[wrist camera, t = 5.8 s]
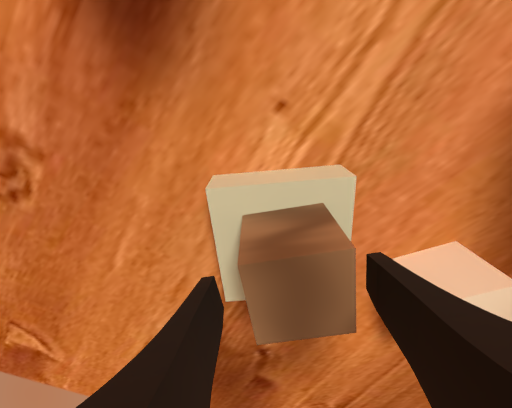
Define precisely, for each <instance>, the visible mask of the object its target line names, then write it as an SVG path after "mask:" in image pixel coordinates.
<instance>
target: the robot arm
mask: <svg viewBox="0 0 512 408" xmlns="http://www.w3.org/2000/svg"><path fill="white" fill-rule="evenodd" d="M366 289H367V291H368V293H369V296H370V298H371V300H372V302H373V304H374V306H375V308H376V310H377V312H378V314H379V315H380V317H381V319H382V320H383V322H384V324H385V325H386V327H387V328H388V330H389V332H390V333H391V335H392V336H393V338H394V340H395V341H396V343H397V345H398V346H399V348H400V349H401V351H402V353H403V354H404V356H405V357H406V359H407V361H408V363H409V364H410V366H411V368H412V370H413V371H414V373H415V375H416V377H417V379H418V381H419V383H420V385H421V387H422V389H423V391H424V393H425V395H426V397H427V399H428V401H429V403H430V405H431V407H432V408H512V321H509V320H507V319H504V318H502V317H500V316H497V315H495V314H493V313H490V312H488V311H486V310H484V309H482V308H479V307H477V306H475V305H473V304H471V303H469V302H467V301H465V300H463V299H461V298H459V297H457V296H455V295H453V294H451V293H449V292H447V291H445V290H443V289H441V288H440V287H438V286H436V285H434V284H432V283H431V282H429V281H427V280H425V279H424V278H422V277H420V276H419V275H417V274H415V273H414V272H412V271H410V270H409V269H407V268H405V267H404V266H402V265H400V264H399V263H397V262H396V261H394V260H392V259H391V258H389V257H388V256H386V255H384V254H382V253H381V252H378V253H371V254H367V271H366ZM223 313H224V307H223V303H222V300H221V297H220V294H219V290H218V287H217V284H216V281H215V277H214V276H210V277H203V278H201V280H200V281H199V282H198V283H197V285H196V286H195V287H194V289H193V290H192V291H191V293H190V294H189V296H188V297H187V298H186V300H185V301H184V302H183V303H182V305H181V306H180V307H179V309H178V310H177V311H176V313H175V314H174V315H173V316H172V317H171V319H170V320H169V321H168V322H167V323H166V325H165V326H164V327H163V328H162V329H161V331H160V332H159V333H158V334H157V335H156V336H155V337H154V338H153V339H152V340H151V341H150V343H149V344H148V345H147V346H146V347H145V348H144V349H143V350H142V351H141V352H140V353H139V354H138V355H137V356H136V357H135V358H133V359H132V360H131V361H130V362H129V363H128V364H127V365H126V366H125V367H124V368H123V369H122V370H120V371H119V372H118V373H117V374H116V375H115V376H114V377H113V378H112V379H110V380H109V381H108V382H107V383H106V384H105V385H103V386H102V387H101V388H100V389H99V390H97V391H96V392H95V393H94V394H92V395H91V396H90V397H89V398H87V399H86V400H85V401H84V402H83V403H81V404H80V405H79V406H77V407H76V408H210V400H211V391H212V384H213V378H214V373H215V367H216V362H217V356H218V351H219V346H220V340H221V334H222V328H223Z"/></svg>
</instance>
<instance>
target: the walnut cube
mask: <svg viewBox="0 0 512 408" xmlns="http://www.w3.org/2000/svg"><path fill="white" fill-rule="evenodd" d="M237 266H238V270H239V274H240V278H241V282H242V287H243V291H244V295H245V299H246V303H247V307H248V311H249V315H250V319H251V323H252V327H253V331H254V335H255V339H256V344H257V345H262V344H270V343H278V342H286V341H294V340H302V339H310V338H318V337H326V336H334V335H341V334H349V333H356V248H355V247H354V245H353V244H352V243H351V241H350V240H349V238H348V237H347V236H346V234H345V233H344V231H343V230H342V229H341V227H340V226H339V224H338V223H337V222H336V220H335V219H334V217H333V216H332V215H331V213H330V212H329V210H328V209H327V208H326V206H325V205H324V203H318V204H311V205H305V206H299V207H292V208H286V209H279V210H273V211H267V212H260V213H254V214H247V215H243V216H242V225H241V235H240V245H239V254H238V264H237Z"/></svg>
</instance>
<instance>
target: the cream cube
mask: <svg viewBox="0 0 512 408" xmlns="http://www.w3.org/2000/svg"><path fill="white" fill-rule="evenodd" d="M393 260H394V261H396V262H397V263H399V264H400V265H402V266H404V267H405V268H407V269H409V270H410V271H412V272H414V273H415V274H417V275H419V276H420V277H422V278H424V279H425V280H427V281H429V282H431V283H432V284H434V285H436V286H438V287H440V288H441V289H443V290H445V291H447V292H449V293H451V294H453V295H455V296H457V297H459V298H461V299H463V300H465V301H467V302H469V303H471V304H473V305H475V306H477V307H479V308H482V309H484V310H486V311H488V312H490V313H493V314H495V315H497V316H500V317H502V318H504V319H507V320H509V321H512V279H511V278H510V277H508V276H507V275H505V274H504V273H502V272H501V271H499V270H498V269H496V268H495V267H494V266H492V265H491V264H489V263H488V262H486V261H485V260H483V259H482V258H480V257H479V256H477V255H476V254H474V253H473V252H471V251H470V250H469V249H467V248H466V247H464V246H463V245H461V244H460V243H458V242H457V241H455V242H451V243H447V244H444V245H440V246H437V247H433V248H429V249H426V250H422V251H418V252H415V253H411V254H407V255H404V256H400V257H396V258H393Z"/></svg>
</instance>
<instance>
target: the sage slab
mask: <svg viewBox="0 0 512 408" xmlns="http://www.w3.org/2000/svg"><path fill="white" fill-rule="evenodd" d="M355 187H356V176H355V175H354V174H353V173H351V172H350V171H348V170H347V169H346V168H344V167H343V166H341V165H330V166H318V167H306V168H295V169H283V170H271V171H259V172H247V173H235V174H224V175H213V177H212V178H211V180H210V182H209V183H208V185H207V187H206V189H205V190H206V195H207V201H208V206H209V212H210V217H211V223H212V228H213V234H214V239H215V245H216V250H217V256H218V262H219V267H220V273H221V278H222V284H223V289H224V295H225V300H226V302H228V301H242V300H246V299H245V295H244V291H243V287H242V282H241V278H240V274H239V270H238V266H237V264H238V254H239V245H240V235H241V225H242V216H243V215H247V214H254V213H260V212H267V211H273V210H279V209H286V208H292V207H299V206H305V205H311V204H318V203H324V205H325V206H326V208H327V209H328V210H329V212H330V213H331V215H332V216H333V217H334V219H335V220H336V222H337V223H338V224H339V226H340V227H341V229H342V230H343V231H344V233H345V234H346V236H347V237H348V238H349V240H350V241H351V235H352V223H353V211H354V199H355Z"/></svg>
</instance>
